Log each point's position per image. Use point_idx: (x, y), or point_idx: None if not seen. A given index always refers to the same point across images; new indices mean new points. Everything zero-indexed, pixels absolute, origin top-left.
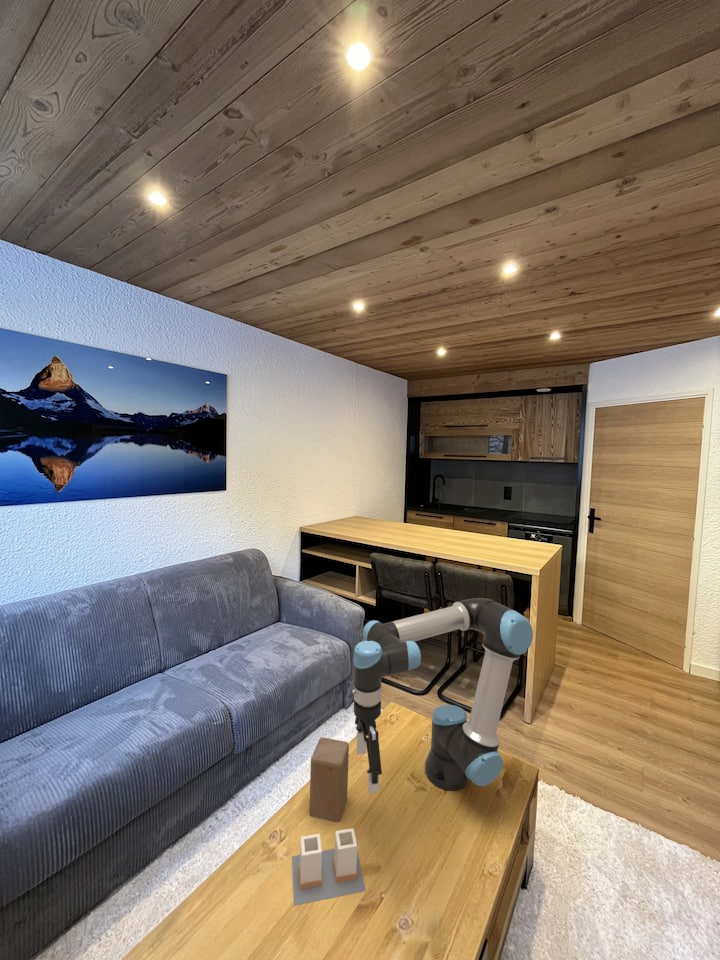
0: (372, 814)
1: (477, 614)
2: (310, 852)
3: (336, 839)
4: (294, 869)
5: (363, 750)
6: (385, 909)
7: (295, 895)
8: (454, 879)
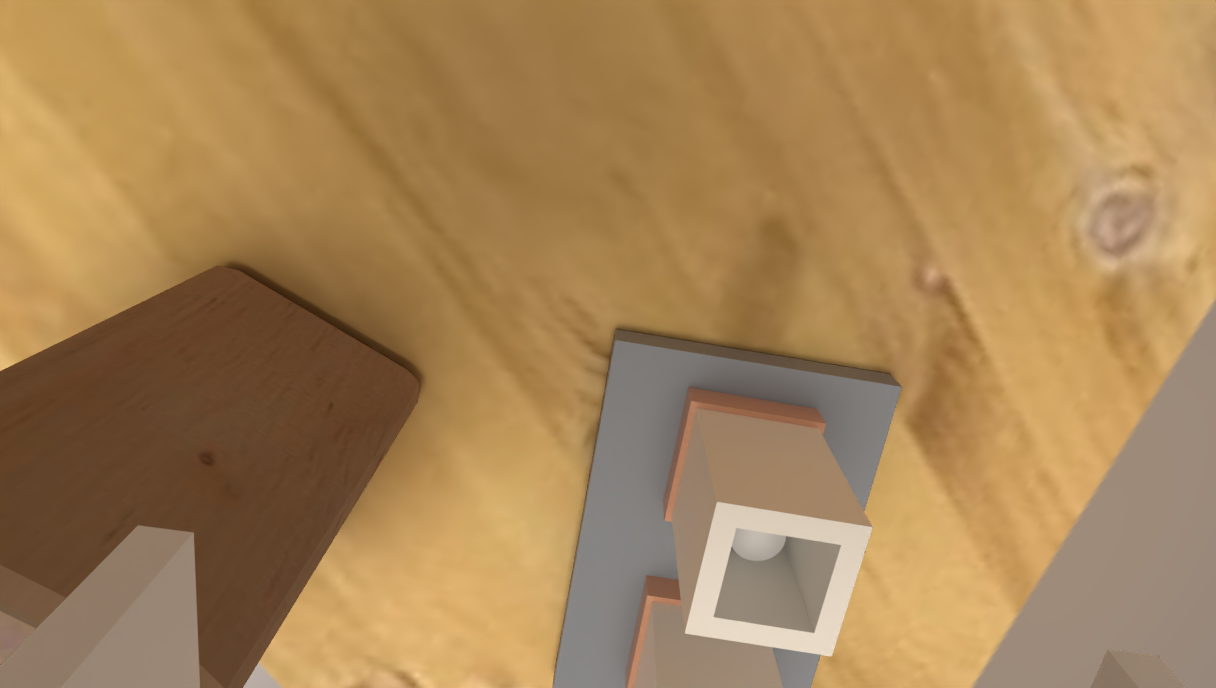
0: (397, 114)
1: None
2: None
3: (745, 638)
4: None
5: (159, 628)
6: (1004, 293)
7: None
8: None
